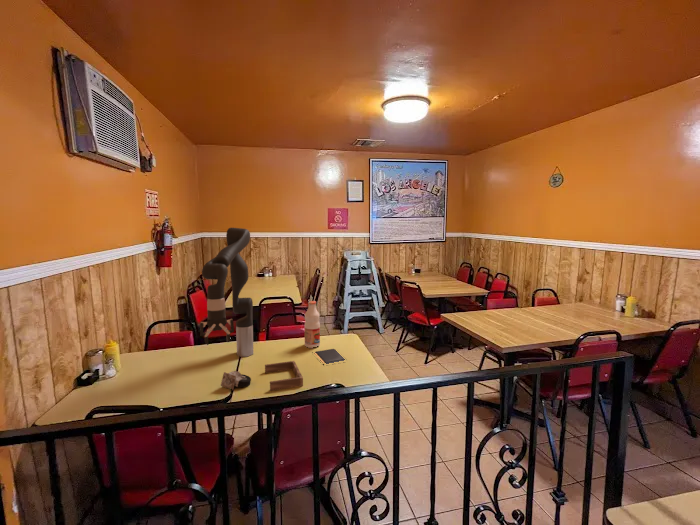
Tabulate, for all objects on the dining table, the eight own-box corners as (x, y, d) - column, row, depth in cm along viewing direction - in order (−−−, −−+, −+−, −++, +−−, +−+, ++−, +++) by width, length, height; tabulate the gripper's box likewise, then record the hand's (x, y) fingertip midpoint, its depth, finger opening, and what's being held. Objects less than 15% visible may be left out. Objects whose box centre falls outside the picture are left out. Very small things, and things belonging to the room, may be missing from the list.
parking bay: (265, 372, 176) (264, 364, 176) (294, 367, 182) (294, 360, 181) (270, 390, 157) (270, 382, 157) (302, 385, 163) (302, 377, 162)
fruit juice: (306, 342, 218) (306, 299, 214) (320, 343, 218) (320, 300, 214) (303, 348, 209) (303, 303, 205) (318, 348, 208) (318, 303, 205)
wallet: (348, 359, 190) (322, 363, 184) (348, 362, 190) (322, 367, 184) (335, 346, 208) (311, 350, 202) (335, 349, 209) (311, 353, 203)
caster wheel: (252, 387, 166) (241, 394, 156) (231, 379, 168) (219, 386, 159) (255, 373, 166) (244, 380, 156) (235, 366, 168) (223, 372, 158)
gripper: (232, 304, 159) (233, 338, 161) (198, 307, 153) (200, 342, 155) (234, 308, 153) (235, 343, 154) (199, 311, 147) (200, 348, 148)
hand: (217, 343), depth 155 cm, fingers open, 8 cm apart
